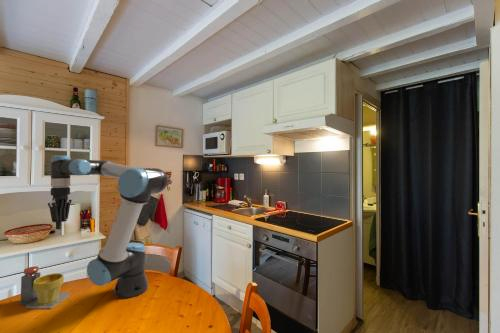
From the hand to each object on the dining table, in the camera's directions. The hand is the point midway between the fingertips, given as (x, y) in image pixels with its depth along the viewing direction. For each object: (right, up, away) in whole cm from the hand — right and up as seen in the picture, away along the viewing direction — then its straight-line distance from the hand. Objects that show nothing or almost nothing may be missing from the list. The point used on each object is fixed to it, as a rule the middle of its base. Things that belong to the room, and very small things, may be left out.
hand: (60, 235), depth 116 cm
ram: (-7, -25, -9) cm, 28 cm away
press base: (-1, -28, -9) cm, 29 cm away
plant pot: (+2, -27, -9) cm, 28 cm away
